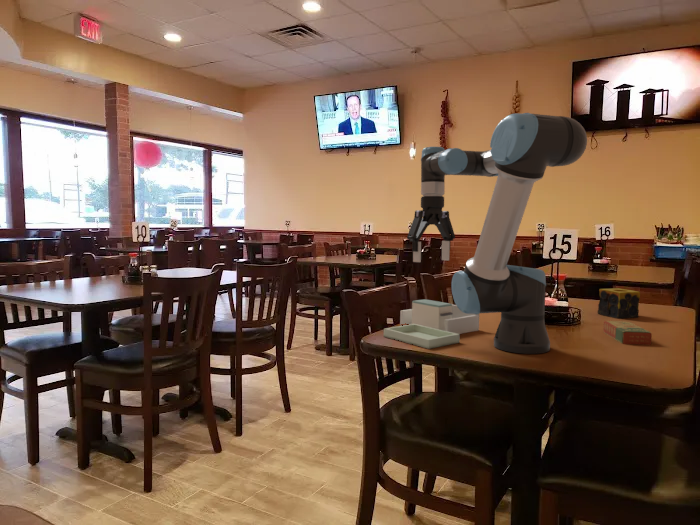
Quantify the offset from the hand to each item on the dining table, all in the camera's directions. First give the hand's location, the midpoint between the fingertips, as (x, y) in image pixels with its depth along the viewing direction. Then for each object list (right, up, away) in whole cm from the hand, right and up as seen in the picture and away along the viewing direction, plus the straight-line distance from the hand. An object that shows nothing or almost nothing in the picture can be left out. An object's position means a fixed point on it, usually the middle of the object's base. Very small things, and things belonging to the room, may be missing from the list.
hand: (431, 261), depth 171 cm
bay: (+3, -22, +4) cm, 23 cm away
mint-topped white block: (0, -23, +2) cm, 23 cm away
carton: (+59, -24, -10) cm, 64 cm away
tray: (-5, -24, -14) cm, 28 cm away
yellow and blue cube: (+76, -21, +28) cm, 84 cm away
